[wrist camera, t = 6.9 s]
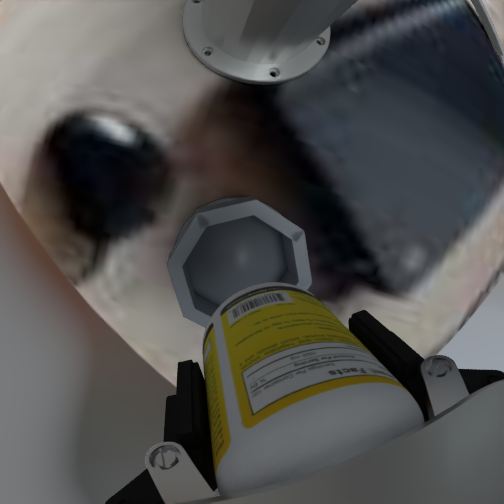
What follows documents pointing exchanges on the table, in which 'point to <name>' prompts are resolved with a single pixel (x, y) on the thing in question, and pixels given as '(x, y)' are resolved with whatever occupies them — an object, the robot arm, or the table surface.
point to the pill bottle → (292, 389)
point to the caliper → (489, 28)
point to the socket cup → (234, 254)
